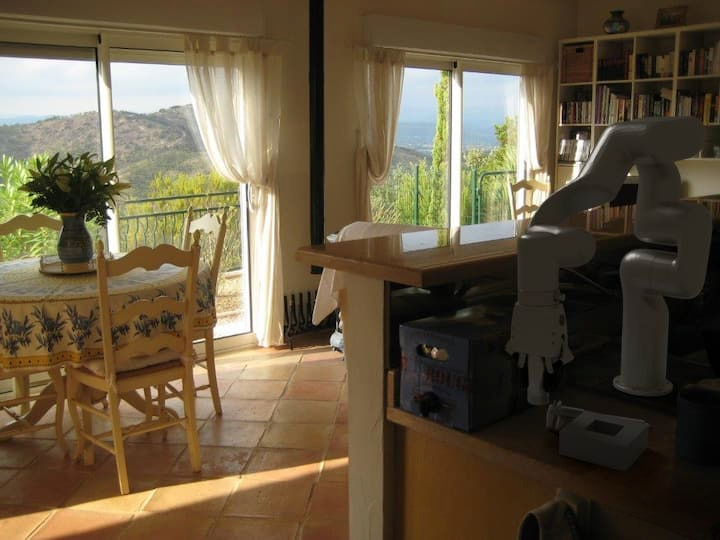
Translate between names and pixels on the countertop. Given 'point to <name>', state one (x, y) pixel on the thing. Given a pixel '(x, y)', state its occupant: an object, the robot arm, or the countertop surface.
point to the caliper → (569, 415)
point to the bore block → (604, 440)
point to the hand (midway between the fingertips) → (538, 387)
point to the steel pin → (536, 380)
